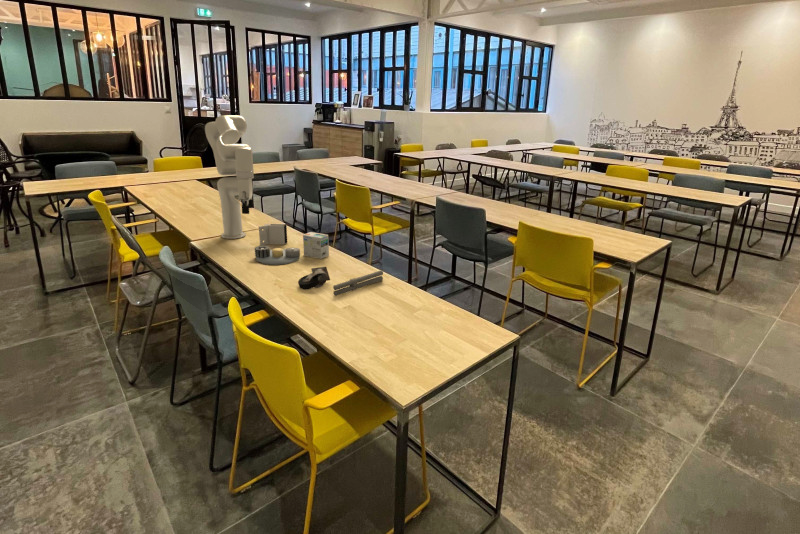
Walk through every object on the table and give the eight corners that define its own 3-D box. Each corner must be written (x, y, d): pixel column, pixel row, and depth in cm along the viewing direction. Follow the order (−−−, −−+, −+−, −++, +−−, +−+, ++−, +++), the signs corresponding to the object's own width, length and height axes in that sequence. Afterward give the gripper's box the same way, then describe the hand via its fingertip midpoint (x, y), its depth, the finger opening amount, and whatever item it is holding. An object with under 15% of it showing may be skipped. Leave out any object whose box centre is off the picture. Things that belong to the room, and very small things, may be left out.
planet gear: (256, 253, 222) (256, 245, 220) (271, 253, 223) (270, 245, 221) (254, 258, 215) (253, 250, 214) (268, 258, 216) (268, 250, 215)
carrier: (259, 251, 228) (259, 242, 227) (301, 251, 231) (301, 242, 229) (252, 265, 210) (251, 255, 208) (298, 264, 212) (297, 255, 211)
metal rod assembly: (379, 279, 200) (379, 269, 198) (383, 281, 198) (383, 270, 196) (331, 295, 182) (331, 284, 180) (336, 297, 180) (336, 286, 179)
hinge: (260, 245, 236) (258, 226, 233) (259, 242, 241) (258, 224, 238) (287, 244, 240) (286, 225, 237) (287, 241, 245) (286, 223, 242)
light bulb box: (329, 255, 226) (329, 234, 222) (321, 259, 220) (321, 238, 217) (311, 251, 230) (310, 231, 226) (303, 255, 224) (302, 234, 221)
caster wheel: (298, 295, 187) (305, 282, 196) (324, 292, 185) (330, 279, 194) (293, 281, 184) (301, 269, 193) (320, 277, 182) (326, 265, 191)
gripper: (240, 170, 217) (242, 205, 224) (232, 178, 202) (235, 215, 208) (256, 171, 219) (258, 206, 225) (250, 178, 203) (252, 216, 209)
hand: (247, 210), depth 217 cm, fingers open, 9 cm apart
